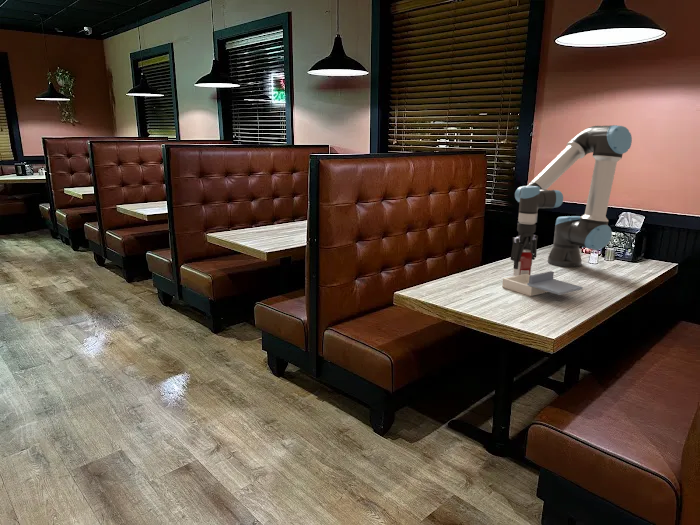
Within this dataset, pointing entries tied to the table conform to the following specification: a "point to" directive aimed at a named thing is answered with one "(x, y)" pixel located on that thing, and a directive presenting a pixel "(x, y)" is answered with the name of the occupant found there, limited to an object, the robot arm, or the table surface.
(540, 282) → the lid
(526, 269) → the soda can
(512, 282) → the mailer box
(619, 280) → the table surface
